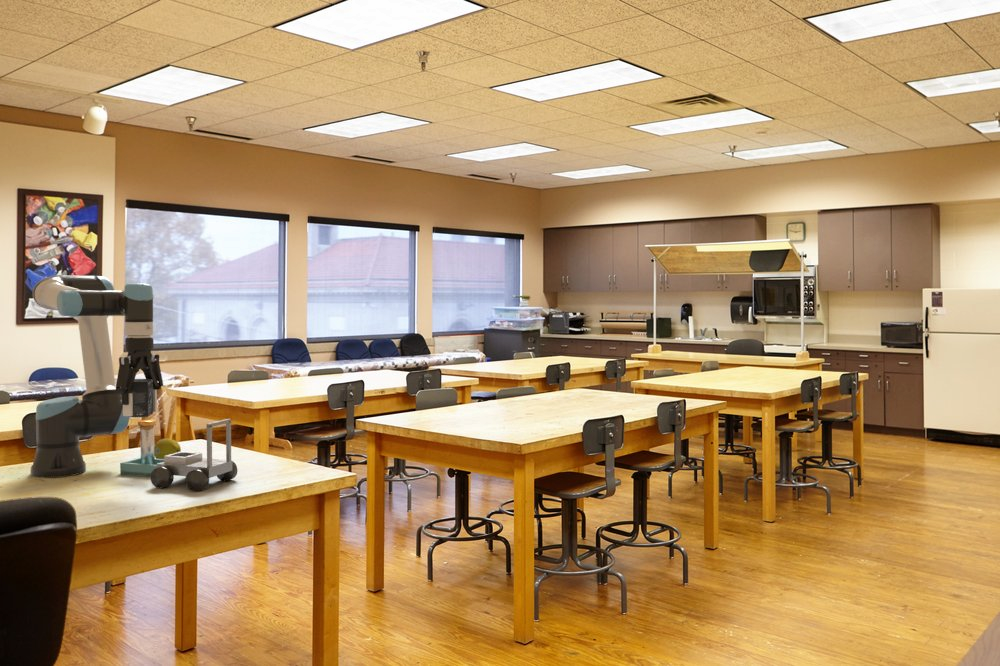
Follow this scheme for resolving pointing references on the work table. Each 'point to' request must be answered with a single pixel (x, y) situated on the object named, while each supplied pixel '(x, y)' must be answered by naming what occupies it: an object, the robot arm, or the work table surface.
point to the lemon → (166, 448)
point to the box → (142, 397)
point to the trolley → (196, 464)
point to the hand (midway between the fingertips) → (140, 413)
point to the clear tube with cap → (147, 441)
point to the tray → (138, 467)
